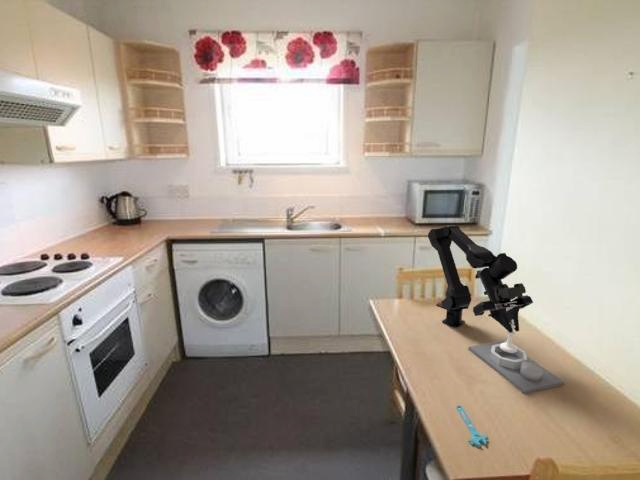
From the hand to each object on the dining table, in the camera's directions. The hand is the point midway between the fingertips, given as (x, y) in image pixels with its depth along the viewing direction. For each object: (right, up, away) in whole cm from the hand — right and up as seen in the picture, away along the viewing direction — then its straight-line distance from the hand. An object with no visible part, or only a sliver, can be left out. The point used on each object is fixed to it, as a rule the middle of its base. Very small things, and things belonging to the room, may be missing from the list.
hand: (514, 331), depth 113 cm
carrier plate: (0, -11, +2) cm, 11 cm away
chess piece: (0, -6, +3) cm, 7 cm away
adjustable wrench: (-23, -18, -22) cm, 37 cm away
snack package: (-4, 0, +48) cm, 48 cm away
